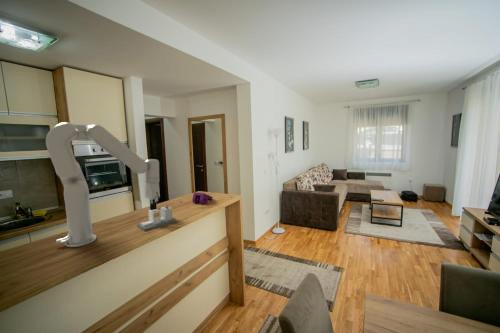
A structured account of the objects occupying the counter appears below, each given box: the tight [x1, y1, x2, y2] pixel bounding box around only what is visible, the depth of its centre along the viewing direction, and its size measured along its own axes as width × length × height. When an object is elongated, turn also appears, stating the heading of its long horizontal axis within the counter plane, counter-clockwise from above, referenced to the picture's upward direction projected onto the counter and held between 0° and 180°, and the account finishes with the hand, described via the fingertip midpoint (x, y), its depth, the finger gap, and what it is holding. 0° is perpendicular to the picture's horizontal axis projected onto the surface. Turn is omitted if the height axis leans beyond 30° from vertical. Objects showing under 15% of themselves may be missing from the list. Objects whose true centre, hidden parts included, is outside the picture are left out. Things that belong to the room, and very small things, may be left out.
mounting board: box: [136, 205, 177, 232], centre depth 134 cm, size 20×10×10 cm, turn 138°
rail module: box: [148, 208, 161, 225], centre depth 133 cm, size 4×6×7 cm
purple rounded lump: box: [192, 191, 213, 206], centre depth 182 cm, size 10×8×18 cm
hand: (153, 209), depth 132 cm, fingers closed
